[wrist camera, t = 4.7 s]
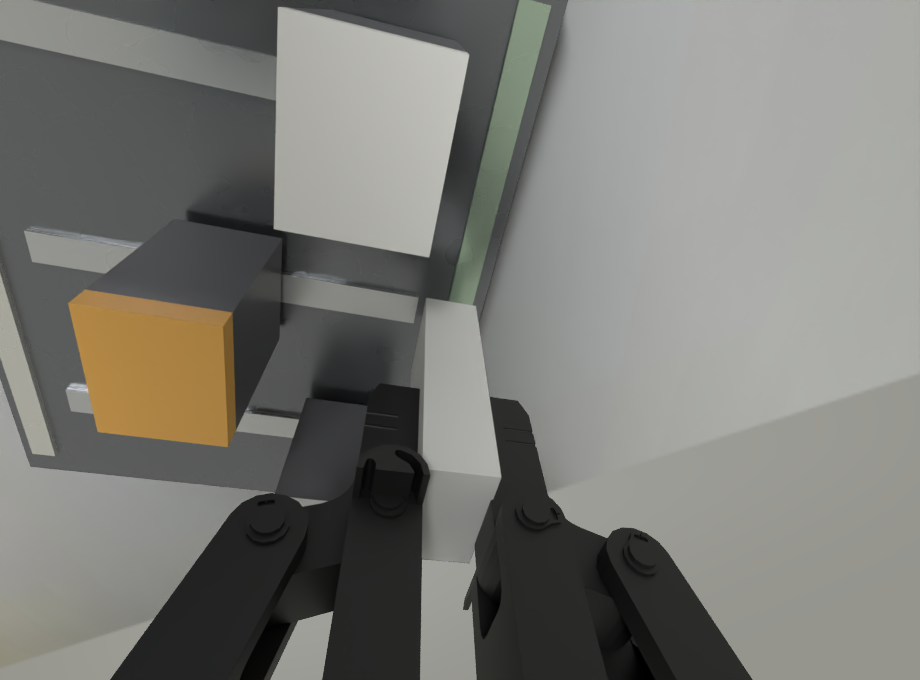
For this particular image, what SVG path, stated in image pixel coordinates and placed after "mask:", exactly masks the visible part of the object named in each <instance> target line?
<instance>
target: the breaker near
mask: <svg viewBox="0 0 920 680" xmlns="http://www.w3.org/2000/svg"><path fill="white" fill-rule="evenodd" d="M468 60H469V54H468V53H467V52H466V50H465V49H464V48H463V47H462V46H461V45H460V44H459V43H458V42H457V41H455V40H451V39H447V38H443V37H439V36H435V35H431V34H427V33H423V32H419V31H415V30H411V29H407V28H403V27H399V26H395V25H391V24H387V23H383V22H379V21H375V20H371V19H367V18H363V17H360V16H356V15H352V14H348V13H344V12H340V11H336V10H328V9H308V8H289V7H278V28H277V81H276V134H275V187H274V229H276V230H281V231H287V232H292V233H297V234H303V235H308V236H314V237H319V238H325V239H330V240H336V241H341V242H347V243H352V244H358V245H363V246H369V247H374V248H380V249H385V250H391V251H396V252H401V253H407V254H412V255H418V256H423V257H429V256H430V251H431V246H432V241H433V236H434V231H435V226H436V221H437V216H438V211H439V205H440V200H441V195H442V190H443V185H444V180H445V175H446V170H447V165H448V160H449V155H450V150H451V145H452V140H453V135H454V130H455V125H456V120H457V115H458V110H459V105H460V100H461V95H462V90H463V85H464V80H465V75H466V70H467V65H468Z"/></svg>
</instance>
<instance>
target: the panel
mask: <svg viewBox="0 0 920 680" xmlns="http://www.w3.org/2000/svg"><path fill="white" fill-rule="evenodd" d="M567 2H568V0H0V379H1V382H2V385H3V388H4V391H5V394H6V397H7V399H8V402H9V405H10V408H11V411H12V414H13V417H14V420H15V423H16V426H17V429H18V431H19V434H20V437H21V440H22V443H23V446H24V449H25V452H26V455H27V458H28V461H29V463H30V466H31V467H40V468H49V469H59V470H69V471H78V472H88V473H97V474H107V475H116V476H126V477H136V478H145V479H155V480H164V481H174V482H184V483H193V484H203V485H212V486H222V487H232V488H241V489H251V490H260V491H270V492H275V491H276V488H277V485H278V482H279V479H280V476H281V473H282V470H283V467H284V464H285V461H286V458H287V455H288V452H289V449H290V446H291V443H292V440H293V437H294V434H295V431H296V428H297V425H298V422H299V419H300V416H301V412H302V409H303V406H304V403H305V400H306V398H312V399H320V400H327V401H335V402H342V403H350V404H357V405H365V406H368V400H369V395H370V394H371V393H372V392H373V391H374V389H375V388H376V387H377V386H378V385H379V384H380V383H382V384H390V385H397V386H404V387H410V386H411V371H412V366H413V361H414V356H415V351H416V346H417V341H418V336H419V331H420V326H421V321H422V316H423V311H424V306H425V301H426V298H431V299H437V300H443V301H449V302H455V303H461V304H467V305H473V306H476V310H477V317H478V323H479V320H480V316H481V313H482V309H483V305H484V302H485V298H486V295H487V291H488V287H489V284H490V280H491V277H492V273H493V269H494V266H495V262H496V258H497V255H498V251H499V248H500V244H501V240H502V237H503V233H504V230H505V226H506V222H507V219H508V215H509V211H510V208H511V204H512V201H513V197H514V193H515V190H516V186H517V183H518V179H519V175H520V172H521V168H522V164H523V161H524V157H525V154H526V150H527V146H528V143H529V139H530V136H531V132H532V128H533V125H534V121H535V117H536V114H537V110H538V107H539V103H540V99H541V96H542V92H543V89H544V85H545V81H546V78H547V74H548V70H549V67H550V63H551V60H552V56H553V52H554V49H555V45H556V42H557V38H558V34H559V31H560V27H561V24H562V20H563V16H564V13H565V9H566V5H567ZM278 7H289V8H308V9H328V10H336V11H340V12H344V13H348V14H352V15H356V16H360V17H363V18H367V19H371V20H375V21H379V22H383V23H387V24H391V25H395V26H399V27H403V28H407V29H411V30H415V31H419V32H423V33H427V34H431V35H435V36H439V37H443V38H447V39H451V40H455V41H457V42H458V43H459V44H460V45H461V46H462V47H463V48H464V49H465V50H466V52H467V53H468V54H469V60H468V65H467V70H466V75H465V80H464V85H463V90H462V95H461V100H460V105H459V110H458V115H457V120H456V125H455V130H454V135H453V140H452V145H451V150H450V155H449V160H448V165H447V170H446V175H445V180H444V185H443V190H442V195H441V200H440V205H439V211H438V216H437V221H436V226H435V231H434V236H433V241H432V246H431V251H430V256H429V257H423V256H418V255H412V254H407V253H401V252H396V251H391V250H385V249H380V248H374V247H369V246H363V245H358V244H352V243H347V242H341V241H336V240H330V239H325V238H319V237H314V236H308V235H303V234H297V233H292V232H287V231H281V230H276V229H274V187H275V134H276V81H277V28H278ZM174 219H178V220H183V221H189V222H194V223H200V224H205V225H211V226H217V227H222V228H228V229H233V230H239V231H244V232H250V233H255V234H261V235H266V236H272V237H278V238H282V268H281V303H280V337H279V341H278V343H277V345H276V347H275V349H274V351H273V353H272V356H271V358H270V360H269V362H268V364H267V366H266V368H265V370H264V372H263V375H262V377H261V379H260V381H259V383H258V385H257V387H256V389H255V392H254V394H253V396H252V398H251V400H250V402H249V404H248V406H247V408H246V411H245V413H244V415H243V417H242V419H241V421H240V423H239V425H238V427H237V430H236V432H235V434H234V436H233V438H232V440H231V442H230V444H229V447H222V446H213V445H205V444H196V443H187V442H179V441H170V440H161V439H153V438H144V437H136V436H127V435H118V434H110V433H101V432H98V431H97V427H96V423H95V418H94V414H93V409H92V405H91V401H90V396H89V392H88V388H87V383H86V379H85V375H84V370H83V366H82V362H81V357H80V353H79V349H78V344H77V340H76V336H75V331H74V327H73V322H72V318H71V314H70V309H69V305H68V303H69V302H70V301H71V300H73V299H74V298H75V297H76V296H78V295H79V294H80V293H82V292H83V291H84V290H85V289H87V288H88V287H89V286H90V285H92V284H93V283H94V282H95V281H97V280H98V279H99V278H100V277H102V276H103V275H104V274H106V273H107V272H108V271H109V270H111V269H112V268H113V267H114V266H116V265H117V264H118V263H119V262H121V261H122V260H123V259H125V258H126V257H127V256H128V255H130V254H131V253H132V252H133V251H135V250H136V249H137V248H138V247H140V246H141V245H142V244H143V243H145V242H146V241H147V240H149V239H150V238H151V237H152V236H154V235H155V234H156V233H157V232H159V231H160V230H161V229H162V228H164V227H165V226H166V225H168V224H169V223H170V222H171V221H173V220H174Z"/></svg>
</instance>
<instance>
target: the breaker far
mask: <svg viewBox="0 0 920 680" xmlns="http://www.w3.org/2000/svg"><path fill="white" fill-rule="evenodd" d="M366 412H367V406H365V405H357V404H350V403H342V402H335V401H327V400H320V399H312V398H306V400H305V403H304V406H303V409H302V412H301V416H300V419H299V422H298V425H297V428H296V431H295V434H294V437H293V440H292V443H291V446H290V449H289V452H288V455H287V458H286V461H285V464H284V467H283V470H282V473H281V476H280V479H279V482H278V485H277V488H276V491H275V494H281V495H287V496H289V497H291V498H293V499H295V500H297V501H298V502H299V503H300V504H301V505H302V507H304V506H309V505H315V504H321V503H324V502H328V501H331V500H333V499H335V498H337V497H339V496H341V495H342V494H343V493H344V492H346V491H347V490H348V489H349V488H350V486H351V485H352V483H353V482H354V479H355V473H356V467H357V465H358V460H359V454H360V448H361V442H362V436H363V430H364V424H365V418H366Z"/></svg>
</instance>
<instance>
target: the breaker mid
mask: <svg viewBox="0 0 920 680" xmlns="http://www.w3.org/2000/svg"><path fill="white" fill-rule="evenodd" d="M281 268H282V238H278V237H272V236H266V235H261V234H255V233H250V232H244V231H239V230H233V229H228V228H222V227H217V226H211V225H205V224H200V223H194V222H189V221H183V220H178V219H174V220H173V221H171V222H170V223H169V224H168V225H166V226H165V227H164V228H162V229H161V230H160V231H159V232H157V233H156V234H155V235H154V236H152V237H151V238H150V239H149V240H147V241H146V242H145V243H143V244H142V245H141V246H140V247H138V248H137V249H136V250H135V251H133V252H132V253H131V254H130V255H128V256H127V257H126V258H125V259H123V260H122V261H121V262H119V263H118V264H117V265H116V266H114V267H113V268H112V269H111V270H109V271H108V272H107V273H106V274H104V275H103V276H102V277H100V278H99V279H98V280H97V281H95V282H94V283H93V284H92V285H90V286H89V287H88V288H87V289H85V290H84V291H83V292H82V293H80V294H79V295H78V296H76V297H75V298H74V299H73V300H71V301H70V302H69V303H68V305H69V309H70V314H71V318H72V322H73V327H74V331H75V336H76V340H77V344H78V349H79V353H80V357H81V362H82V366H83V370H84V375H85V379H86V383H87V388H88V392H89V396H90V401H91V405H92V409H93V414H94V418H95V423H96V427H97V431H98V432H101V433H110V434H118V435H127V436H136V437H144V438H153V439H161V440H170V441H179V442H187V443H196V444H205V445H213V446H222V447H229V444H230V442H231V440H232V438H233V436H234V434H235V432H236V430H237V427H238V425H239V423H240V421H241V419H242V417H243V415H244V413H245V411H246V408H247V406H248V404H249V402H250V400H251V398H252V396H253V394H254V392H255V389H256V387H257V385H258V383H259V381H260V379H261V377H262V375H263V372H264V370H265V368H266V366H267V364H268V362H269V360H270V358H271V356H272V353H273V351H274V349H275V347H276V345H277V343H278V341H279V337H280V303H281Z"/></svg>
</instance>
